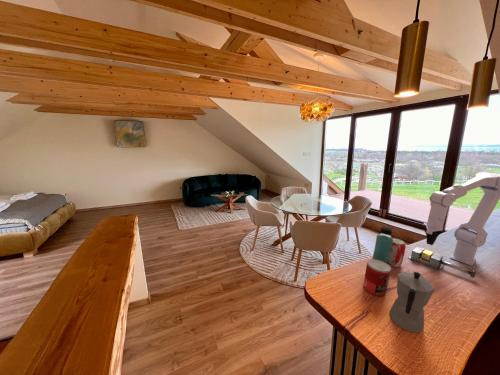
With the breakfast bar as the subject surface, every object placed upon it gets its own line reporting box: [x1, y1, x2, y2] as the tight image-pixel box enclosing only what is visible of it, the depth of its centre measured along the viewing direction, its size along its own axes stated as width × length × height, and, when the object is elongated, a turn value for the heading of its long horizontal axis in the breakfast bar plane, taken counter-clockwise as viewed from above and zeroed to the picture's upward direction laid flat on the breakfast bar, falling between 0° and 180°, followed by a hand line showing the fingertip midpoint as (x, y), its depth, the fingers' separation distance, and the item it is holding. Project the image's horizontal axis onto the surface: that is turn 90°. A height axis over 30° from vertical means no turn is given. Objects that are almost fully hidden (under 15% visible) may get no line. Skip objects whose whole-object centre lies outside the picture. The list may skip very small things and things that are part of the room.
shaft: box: [439, 259, 477, 278], centre depth 95 cm, size 14×3×3 cm, turn 37°
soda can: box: [388, 237, 406, 268], centre depth 99 cm, size 7×7×12 cm
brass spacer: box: [421, 249, 434, 262], centre depth 103 cm, size 3×5×5 cm, turn 127°
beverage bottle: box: [372, 226, 393, 264], centre depth 94 cm, size 6×7×20 cm
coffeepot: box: [389, 271, 436, 334], centre depth 66 cm, size 15×9×18 cm, turn 137°
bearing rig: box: [408, 245, 444, 271], centre depth 103 cm, size 12×8×5 cm, turn 37°
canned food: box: [363, 259, 392, 297], centre depth 82 cm, size 8×8×11 cm
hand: (429, 244), depth 101 cm, fingers closed
